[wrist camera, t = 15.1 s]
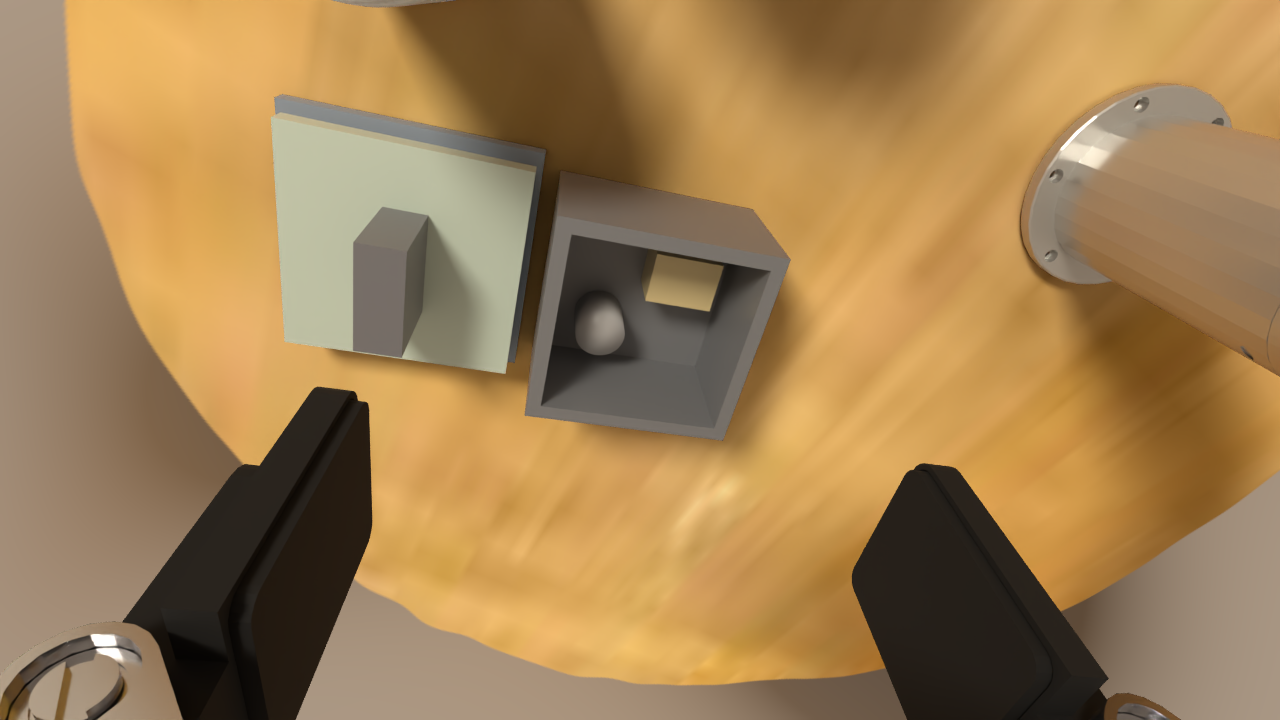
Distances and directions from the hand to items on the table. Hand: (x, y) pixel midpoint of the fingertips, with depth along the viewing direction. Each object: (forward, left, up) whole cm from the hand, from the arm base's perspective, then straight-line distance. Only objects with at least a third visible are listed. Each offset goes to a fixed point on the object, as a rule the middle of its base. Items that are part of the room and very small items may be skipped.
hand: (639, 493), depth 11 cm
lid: (+9, +9, -28) cm, 31 cm away
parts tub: (-5, +9, -29) cm, 31 cm away
